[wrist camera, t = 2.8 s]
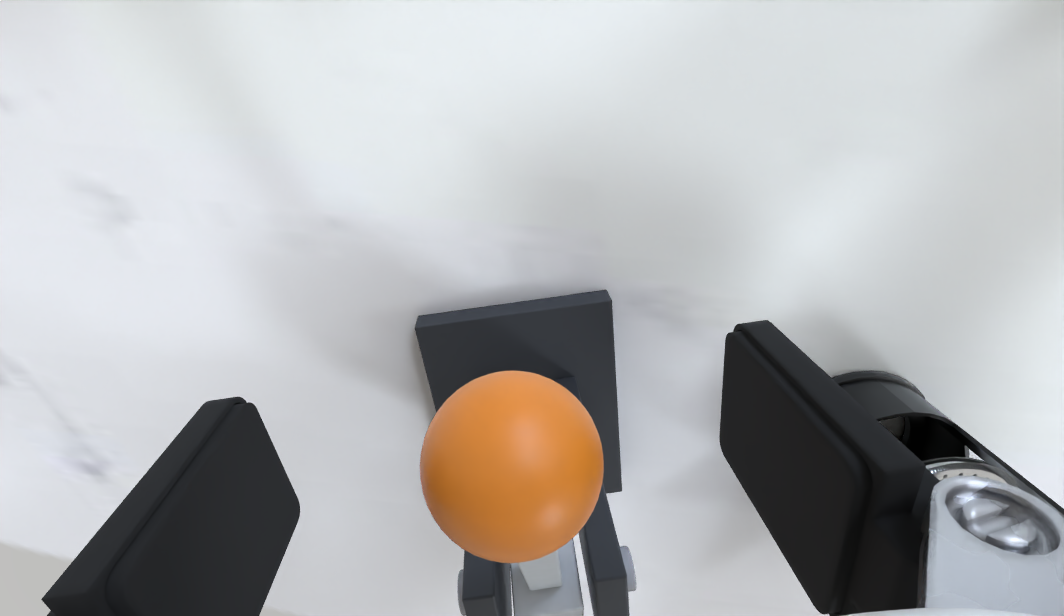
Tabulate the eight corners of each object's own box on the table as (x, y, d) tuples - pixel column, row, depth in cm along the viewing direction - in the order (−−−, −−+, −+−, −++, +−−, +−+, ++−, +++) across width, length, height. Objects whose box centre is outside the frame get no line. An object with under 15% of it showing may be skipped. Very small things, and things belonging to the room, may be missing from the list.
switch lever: (401, 349, 9) (390, 550, 7) (586, 323, 9) (630, 516, 7) (502, 547, 20) (509, 644, 18) (583, 535, 20) (599, 631, 18)
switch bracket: (417, 315, 24) (359, 521, 13) (606, 289, 24) (697, 472, 13) (463, 497, 29) (447, 747, 19) (617, 475, 29) (688, 711, 19)
